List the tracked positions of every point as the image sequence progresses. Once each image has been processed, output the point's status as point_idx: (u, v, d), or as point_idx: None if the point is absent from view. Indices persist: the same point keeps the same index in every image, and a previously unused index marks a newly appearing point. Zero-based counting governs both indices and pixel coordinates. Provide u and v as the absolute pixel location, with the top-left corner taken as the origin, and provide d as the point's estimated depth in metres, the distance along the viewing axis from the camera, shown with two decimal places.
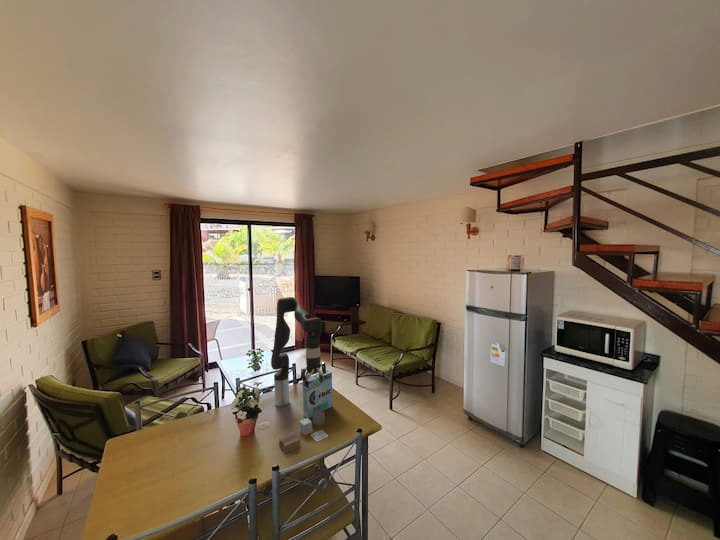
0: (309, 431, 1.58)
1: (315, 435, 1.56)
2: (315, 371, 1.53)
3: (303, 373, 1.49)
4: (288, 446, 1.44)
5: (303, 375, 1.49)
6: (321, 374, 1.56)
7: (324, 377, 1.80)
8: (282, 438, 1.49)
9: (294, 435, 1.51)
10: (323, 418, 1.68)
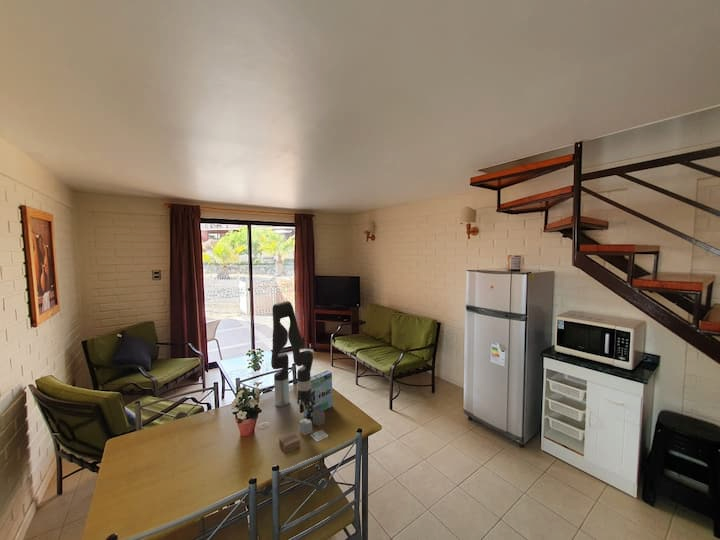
0: (309, 431, 1.58)
1: (315, 435, 1.56)
2: None
3: (312, 405, 1.54)
4: (288, 446, 1.44)
5: (312, 407, 1.54)
6: None
7: (324, 377, 1.80)
8: (282, 438, 1.49)
9: (294, 435, 1.51)
10: (323, 418, 1.68)
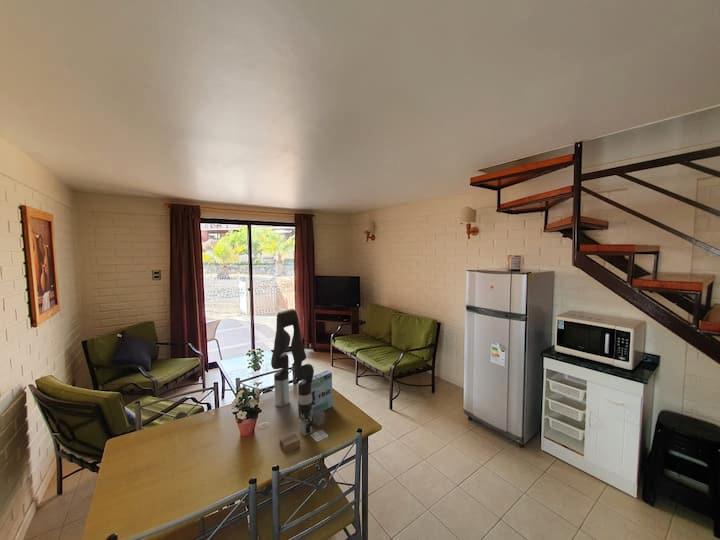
0: None
1: (315, 435, 1.56)
2: None
3: (312, 420, 1.55)
4: (288, 446, 1.44)
5: (312, 421, 1.55)
6: None
7: (324, 377, 1.80)
8: (282, 438, 1.49)
9: (294, 435, 1.51)
10: (323, 418, 1.68)
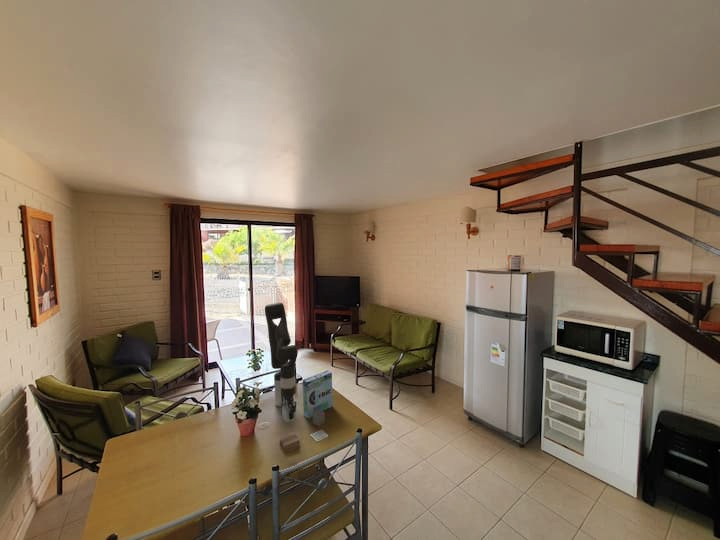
0: None
1: (315, 435, 1.56)
2: None
3: None
4: (287, 446, 1.44)
5: None
6: None
7: (324, 377, 1.80)
8: (282, 437, 1.49)
9: (294, 435, 1.51)
10: (323, 418, 1.68)
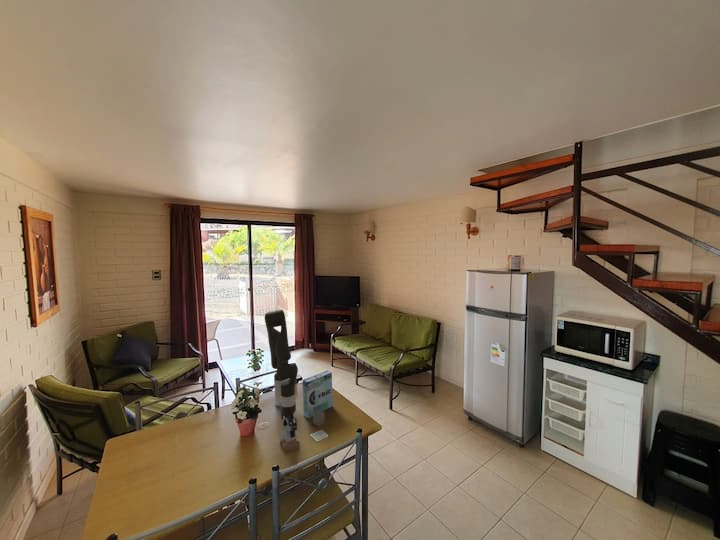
0: (293, 438, 1.47)
1: (315, 435, 1.56)
2: None
3: (296, 422, 1.43)
4: (287, 446, 1.44)
5: (296, 424, 1.43)
6: None
7: (324, 377, 1.80)
8: None
9: None
10: (323, 418, 1.68)
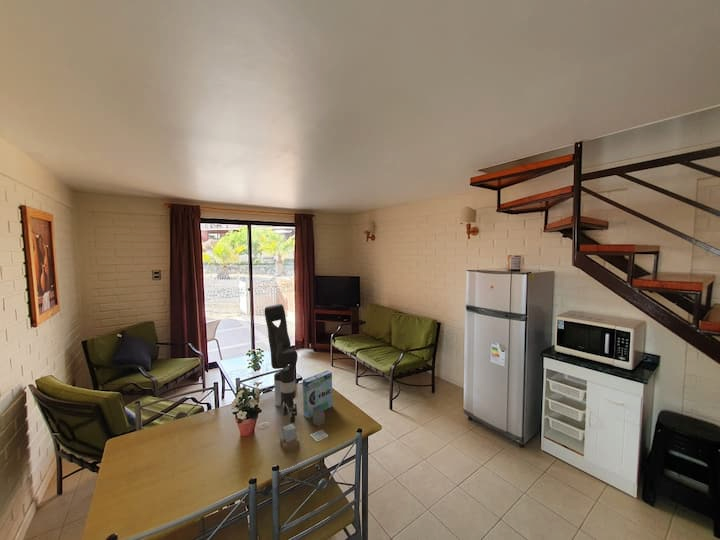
0: (293, 438, 1.47)
1: (315, 435, 1.56)
2: None
3: (296, 408, 1.43)
4: (287, 446, 1.44)
5: (296, 410, 1.43)
6: None
7: (324, 377, 1.80)
8: None
9: None
10: (323, 418, 1.68)
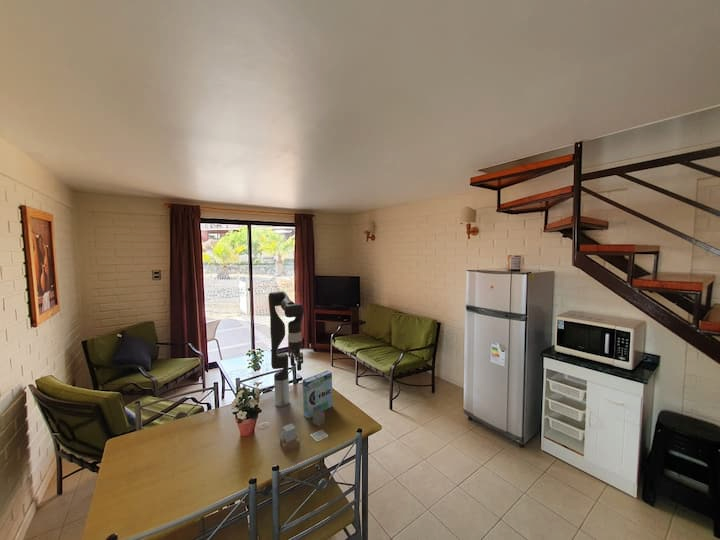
0: (293, 438, 1.47)
1: (315, 435, 1.56)
2: None
3: (302, 356, 1.56)
4: (287, 446, 1.44)
5: None
6: None
7: (324, 377, 1.80)
8: None
9: None
10: (323, 418, 1.68)
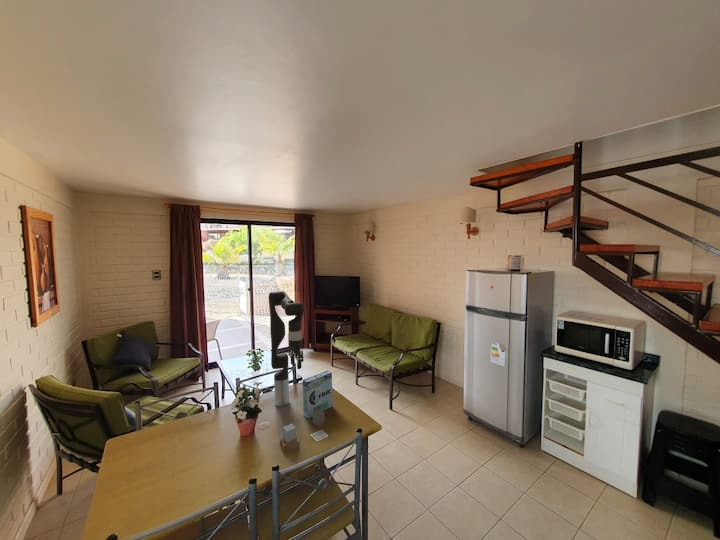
0: (293, 438, 1.47)
1: (315, 435, 1.56)
2: None
3: None
4: (287, 447, 1.44)
5: None
6: (294, 355, 1.65)
7: (324, 377, 1.80)
8: (282, 438, 1.49)
9: None
10: (323, 418, 1.68)
